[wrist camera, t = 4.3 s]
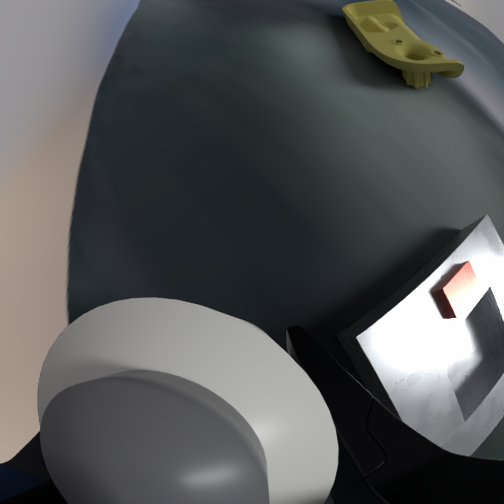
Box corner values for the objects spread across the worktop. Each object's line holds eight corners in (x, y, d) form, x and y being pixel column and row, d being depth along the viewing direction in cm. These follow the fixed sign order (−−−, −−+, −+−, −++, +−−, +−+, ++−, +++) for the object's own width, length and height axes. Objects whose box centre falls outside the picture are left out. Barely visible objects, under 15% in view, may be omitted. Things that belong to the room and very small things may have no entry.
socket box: (514, 357, 14) (545, 356, 10) (413, 471, 12) (440, 493, 8) (461, 229, 17) (493, 210, 13) (336, 335, 15) (362, 337, 11)
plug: (294, 378, 14) (410, 522, 2) (216, 419, 13) (129, 588, 1) (248, 302, 15) (211, 197, 3) (171, 344, 14) (-30, 365, 2)
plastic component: (338, 5, 24) (400, -2, 20) (352, 43, 30) (408, 36, 26) (386, 68, 17) (474, 63, 13) (393, 121, 24) (469, 114, 19)
